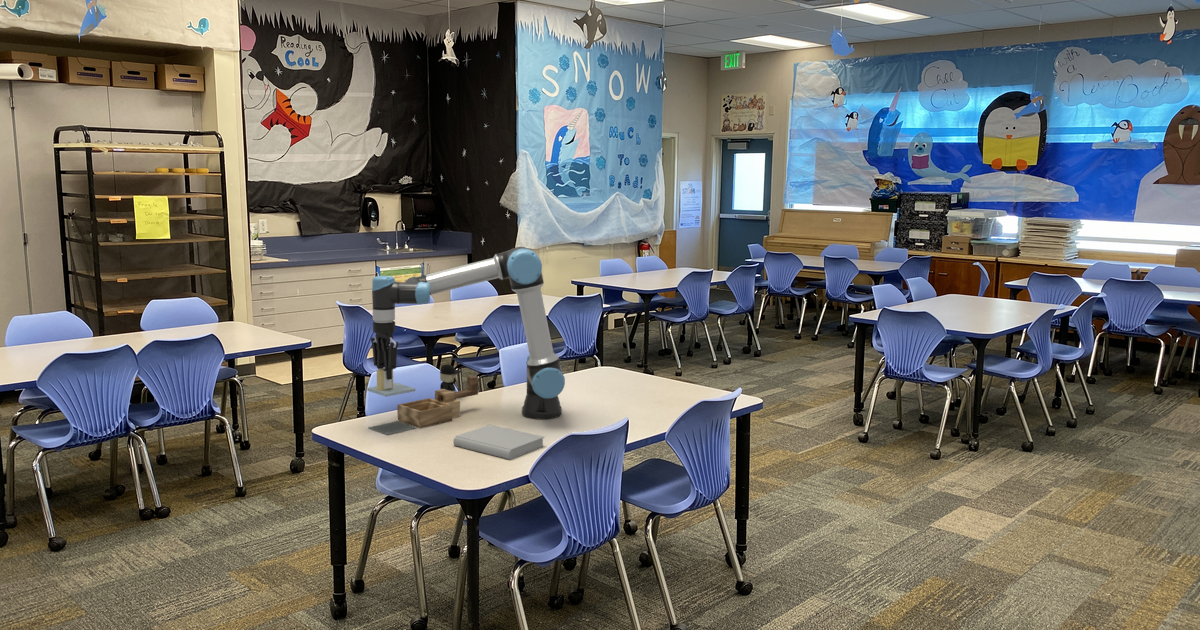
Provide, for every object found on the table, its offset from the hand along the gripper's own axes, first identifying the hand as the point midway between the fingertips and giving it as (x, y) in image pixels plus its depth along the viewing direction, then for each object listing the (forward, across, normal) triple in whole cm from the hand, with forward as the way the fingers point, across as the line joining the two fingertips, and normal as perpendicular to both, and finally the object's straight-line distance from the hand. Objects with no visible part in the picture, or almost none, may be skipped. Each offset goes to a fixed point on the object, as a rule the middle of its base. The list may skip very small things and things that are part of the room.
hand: (385, 387), depth 299 cm
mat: (+15, 0, -3) cm, 16 cm away
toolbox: (+15, 0, -20) cm, 25 cm away
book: (+16, -42, -16) cm, 48 cm away
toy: (+15, +17, -42) cm, 47 cm away
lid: (+2, 0, -2) cm, 3 cm away
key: (+9, 0, -33) cm, 34 cm away
